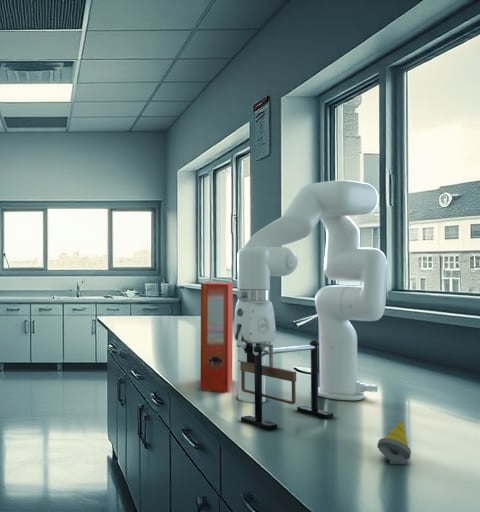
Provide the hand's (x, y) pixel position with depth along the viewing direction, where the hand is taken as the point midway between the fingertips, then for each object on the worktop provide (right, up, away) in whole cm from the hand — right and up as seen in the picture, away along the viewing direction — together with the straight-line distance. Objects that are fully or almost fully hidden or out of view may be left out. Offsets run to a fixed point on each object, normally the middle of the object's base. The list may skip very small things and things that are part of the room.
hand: (254, 369), depth 137 cm
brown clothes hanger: (0, -5, -7) cm, 8 cm away
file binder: (+2, -12, +34) cm, 36 cm away
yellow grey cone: (+15, -11, -30) cm, 36 cm away
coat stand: (+7, -12, -3) cm, 14 cm away
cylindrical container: (+6, -12, +17) cm, 21 cm away
